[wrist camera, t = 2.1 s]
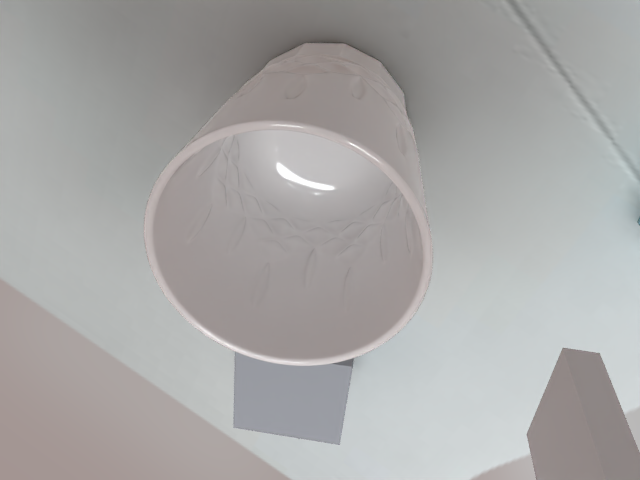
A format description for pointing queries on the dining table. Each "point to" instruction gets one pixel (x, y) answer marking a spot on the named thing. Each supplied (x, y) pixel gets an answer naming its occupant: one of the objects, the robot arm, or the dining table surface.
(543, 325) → the dining table surface
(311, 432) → the slate grey block
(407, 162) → the white cup
